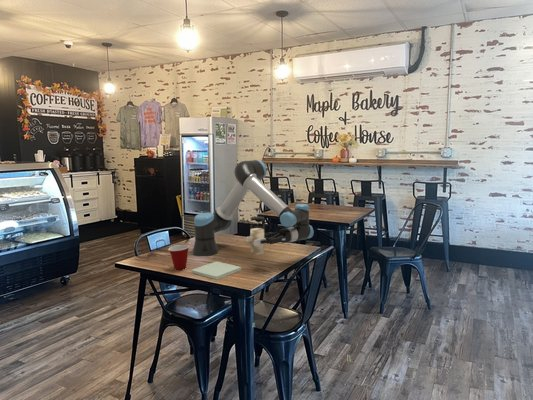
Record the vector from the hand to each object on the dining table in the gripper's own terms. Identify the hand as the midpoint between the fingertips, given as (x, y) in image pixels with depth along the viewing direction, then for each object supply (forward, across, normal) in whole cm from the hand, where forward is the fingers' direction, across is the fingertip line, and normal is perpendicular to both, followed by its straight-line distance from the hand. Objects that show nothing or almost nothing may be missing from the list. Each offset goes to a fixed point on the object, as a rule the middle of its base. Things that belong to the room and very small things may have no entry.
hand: (250, 241), depth 201 cm
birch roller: (-4, 0, -6) cm, 8 cm away
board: (+15, +10, -16) cm, 24 cm away
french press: (-33, +48, -16) cm, 61 cm away
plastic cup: (+29, +25, -16) cm, 42 cm away
